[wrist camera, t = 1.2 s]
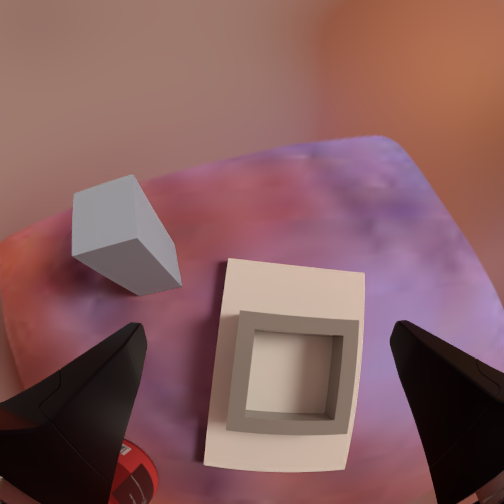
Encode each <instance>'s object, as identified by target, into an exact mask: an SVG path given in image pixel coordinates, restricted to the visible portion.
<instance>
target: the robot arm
mask: <svg viewBox="0 0 504 504" xmlns="http://www.w3.org/2000/svg"><path fill="white" fill-rule="evenodd" d="M390 346H391V350H392V353H393V357H394V360H395V364H396V368H397V371H398V375H399V378H400V381H401V384H402V386H403V389H404V392H405V394H406V397H407V400H408V403H409V405H410V408H411V411H412V414H413V417H414V420H415V423H416V426H417V429H418V432H419V435H420V438H421V442H422V445H423V448H424V452H425V455H426V459H427V462H428V466H429V470H430V474H431V478H432V482H433V486H434V490H435V494H436V499H437V503H438V504H458V503H460V502H461V501H463V500H464V499H466V498H468V497H469V496H471V495H473V494H474V493H476V495H477V498H478V501H476V502H475V503H473V504H504V373H503V372H500V371H498V370H496V369H494V368H492V367H490V366H489V365H487V364H485V363H483V362H481V361H480V360H478V359H475V358H474V357H472V356H471V355H469V354H467V353H465V352H463V351H462V350H460V349H458V348H456V347H454V346H453V345H451V344H449V343H447V342H445V341H444V340H442V339H440V338H438V337H436V336H435V335H433V334H431V333H429V332H427V331H426V330H424V329H422V328H420V327H418V326H416V325H415V324H413V323H411V322H409V321H407V320H402V321H397V322H396V323H395V326H394V329H393V332H392V334H391V337H390ZM146 350H147V340H146V336H145V332H144V328H143V325H142V324H141V323H134V322H131V323H129V324H127V325H126V326H124V327H123V328H121V329H120V330H118V331H117V332H115V333H114V334H112V335H111V336H109V337H108V338H106V339H105V340H103V341H102V342H100V343H99V344H97V345H96V346H94V347H93V348H91V349H90V350H88V351H87V352H85V353H84V354H82V355H81V356H79V357H78V358H76V359H75V360H73V361H72V362H70V363H69V364H67V365H66V366H64V367H63V368H61V370H58V371H56V372H55V373H53V374H52V375H50V376H49V377H47V378H46V379H44V380H43V381H41V382H39V383H37V384H36V385H34V386H32V387H30V388H29V389H27V390H25V391H23V392H21V393H19V394H17V395H16V396H14V397H12V398H10V399H8V400H6V401H4V402H1V403H0V504H108V503H109V498H110V493H111V489H112V485H111V484H112V483H113V479H114V475H115V471H116V466H117V462H118V458H119V455H120V451H121V447H122V443H123V439H124V436H125V432H126V428H127V425H128V421H129V418H130V415H131V411H132V408H133V404H134V401H135V398H136V395H137V391H138V388H139V385H140V380H141V375H142V370H143V365H144V360H145V355H146Z"/></svg>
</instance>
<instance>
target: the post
mask: <svg viewBox="0 0 504 504" xmlns="http://www.w3.org/2000/svg"><path fill="white" fill-rule="evenodd" d="M72 257H74V258H76V259H77V260H79V261H80V262H82V263H83V264H85V265H87V266H88V267H90V268H91V269H93V270H95V271H96V272H98V273H100V274H101V275H103V276H105V277H106V278H108V279H110V280H112V281H113V282H115V283H117V284H118V285H120V286H122V287H124V288H126V289H127V290H129V291H131V292H133V293H134V294H136V295H138V296H143V295H148V294H152V293H157V292H161V291H165V290H170V289H174V288H178V287H182V283H181V278H180V273H179V267H178V262H177V256H176V250H175V244H174V243H173V241H172V239H171V238H170V236H169V234H168V233H167V231H166V230H165V228H164V226H163V225H162V223H161V221H160V220H159V218H158V216H157V215H156V213H155V211H154V210H153V208H152V206H151V204H150V203H149V201H148V199H147V198H146V196H145V194H144V192H143V191H142V189H141V187H140V185H139V184H138V182H137V180H136V178H135V177H134V175H133V174H131V175H128V176H125V177H122V178H119V179H115V180H112V181H109V182H106V183H103V184H100V185H97V186H94V187H92V188H89V189H86V190H83V191H81V192H78V193H75V194H74V201H73V219H72Z"/></svg>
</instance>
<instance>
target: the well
mask: <svg viewBox="0 0 504 504" xmlns="http://www.w3.org/2000/svg"><path fill="white" fill-rule="evenodd" d="M364 301H365V273H358V272H349V271H340V270H330V269H321V268H312V267H303V266H293V265H284V264H275V263H267V262H258V261H249V260H240V259H232V258H228V264H227V271H226V278H225V286H224V293H223V300H222V308H221V315H220V323H219V331H218V339H217V347H216V355H215V363H214V371H213V380H212V389H211V398H210V407H209V416H208V425H207V435H206V445H205V456H204V465H207V466H213V467H221V468H229V469H238V470H249V471H265V472H317V471H332V470H343V469H345V466H346V461H347V456H348V451H349V446H350V441H351V436H352V430H353V424H354V418H355V411H356V404H357V397H358V388H359V380H360V370H361V359H362V346H363V329H364Z"/></svg>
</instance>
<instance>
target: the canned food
mask: <svg viewBox="0 0 504 504" xmlns="http://www.w3.org/2000/svg"><path fill="white" fill-rule="evenodd" d="M111 485H112V489H111V493H110V498H109V503H108V504H149V502H150V501H151V499H152V498H153V496H154V494H155V493H156V491H157V488H158V473H157V470H156V467H155V465H154V463H153V461H152V460H151V459H150V457H149V456H148V455H147V454H146V453H145V452H144V451H143V450H142V449H141V448H139V447H138V446H137V445H135V444H134V443H132V442H130V441H128V440H126V439H123V443H122V447H121V451H120V455H119V458H118V462H117V466H116V471H115V475H114V479H113V483H112V484H111Z"/></svg>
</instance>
